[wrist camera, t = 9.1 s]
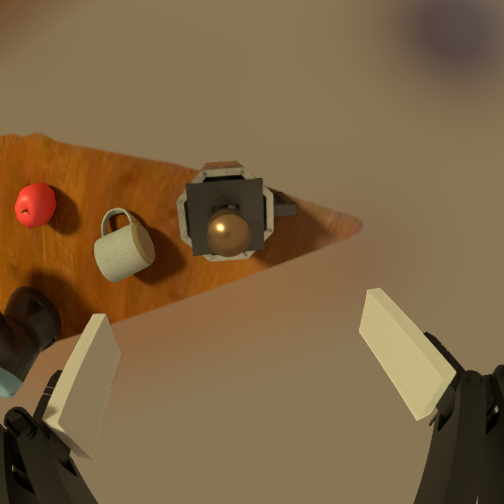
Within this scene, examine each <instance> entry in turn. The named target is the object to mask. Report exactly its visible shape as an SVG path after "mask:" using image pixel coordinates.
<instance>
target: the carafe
mask: <svg viewBox="0 0 504 504" xmlns="http://www.w3.org/2000/svg"><path fill="white" fill-rule="evenodd" d="M227 175H234V176H236V177H238V178H239V179H233V180H219V181H207V180H208V179H209V178H210V177H214V176H227ZM206 181H207V182H206ZM185 185H186V188H185V189H184V191H183V192H182V194H181V195H180V197H179V198H178V200H177V210H178V219H179V227H180V235H181V239H182V240H183V241H184V242H186V243H187V244H188V245H189V246H191V247H192V250H193V256H197V255H202V256H204V257H205V258H206V259H208V260H209V261H210V262H213V261H225V260H237V259H248V258H249V257H250V256H251V255H252V254H253V253H254V252H255V251H257V250H264V241H265V240H266V239H267V238H268V237H269V236H270V235H271V234H272V233H273V232H274V217H276V216H293V215H297V204H296V203H295V202H294V201H292V200H291V199H290V198H289V197H287V196H286V195H285V194H283V193H282V192H278V193H272V192H271V191H270V190H269V189H267V188H266V187H265V186H264V185H263V180H262V178H255V177H254V176H253V175H252V174H251V173H250V172H248V171H247V170H246V169H245V168H244V167H243V166H242V165H241V164H240V163H238V162H237V161H225V162H212V163H206V164H205V165H204V166H203V168H202V169H201V170H200V171H199V172H198V173H197V174H196V176H195V177H194V178H193V179H192V180H191V181H190V183H186V184H185ZM234 204H239V211H240V212H241V213H242V214H243V215H244V216H245V218H246V221H247V223H248V226H249V228H250V232H251V240H250V243H249V246H248V247H247V249H246V250H245V251H244V252H242V253H241V254H239V255H237V256H234V257H223V256H220V255H218V254H216V253H215V252H213V251H212V249H211V248H210V247H209V245H208V242H207V228H208V221H209V219H210V217H211V216H212V214H213V210H212V206H221V205H234Z"/></svg>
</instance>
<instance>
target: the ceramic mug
mask: <svg viewBox="0 0 504 504" xmlns="http://www.w3.org/2000/svg"><path fill="white" fill-rule="evenodd" d="M122 212H124V213H125V214H126V215H127V216H128V218H129V221H130V225H127V226H125V227H123V228H121V229H119V230H117V231H114V232H112V233H110V234H108V235H107V222H108V220H109V218H110V217H111V216H113V215H115V214H118V213H119V214H121V213H122ZM101 230H102V237H101V238H99V239H98V240H97V241H96V242H95V245H94V254H95V259H96V262H97V265H98V267H99V269H100V271H101V272H102V274H103V275H104V276H105V277H106V279H108V280H109V281H111V282H118V281H120V280H122V279H124V278H126V277H128V276H130V275H132V274H134V273H136V272H138V271H140V270H142V269H144V268H146V267H148V266H149V265H151V264H152V263H153V262H154V260H155V249H154V245H153V242H152V240H151V238H150V236H149V234H148V232H147V231H146V229H145V228H144V227H143V226H142V225H140V224H137V223H135V221H134V218H133V216H132V215H131V213H130V212H129V211H127V210H125V209H122V208H115V209H112V210H110V211H109V212H107V213H106V214H105V216H104V218H103V221H102V227H101Z"/></svg>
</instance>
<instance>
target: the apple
mask: <svg viewBox="0 0 504 504" xmlns="http://www.w3.org/2000/svg"><path fill="white" fill-rule="evenodd" d="M56 206H57V204H56V199H55V193H54V191H53V190H52V189H51V188H50V187H49V186H47V185H46V184H45V183H36V184H33V185H30V186H27V187H25V188H23V189H22V190H21V191H20V194H19V196H18V199H17V202H16V205H15V210H16V215H17V219H18V220H19V221H20V222H21V223H22V224H23V225H24V226H25V227H27V228H29V229H30V228H34V227H38V226H42V225H46V223H47V222H48V221H49V220H50V219H51V218H52V215H53V213H54V211H55V209H56Z"/></svg>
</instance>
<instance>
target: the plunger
mask: <svg viewBox="0 0 504 504" xmlns="http://www.w3.org/2000/svg"><path fill="white" fill-rule="evenodd" d="M233 179H239V178H238V177H236V176H234V175H227V176H214V177H210V178H209V179H208V180H207V181H219V180H233ZM207 181H206V182H207ZM212 210H213V214H212V216H211V217H210V219H209V221H208V228H207V242H208V245H209V247H210V248H211V249H212V251H213V252H215V253H216V254H218V255H220V256H223V257H234V256H237V255H239V254H241V253H242V252H244V251H245V250H246V249H247V247H248V246H249V243H250V240H251V232H250V228H249V226H248V223H247V221H246V218H245V216H244V215H243V214H242V213H241V212H240V211H239V204H234V205H221V206H212Z"/></svg>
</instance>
